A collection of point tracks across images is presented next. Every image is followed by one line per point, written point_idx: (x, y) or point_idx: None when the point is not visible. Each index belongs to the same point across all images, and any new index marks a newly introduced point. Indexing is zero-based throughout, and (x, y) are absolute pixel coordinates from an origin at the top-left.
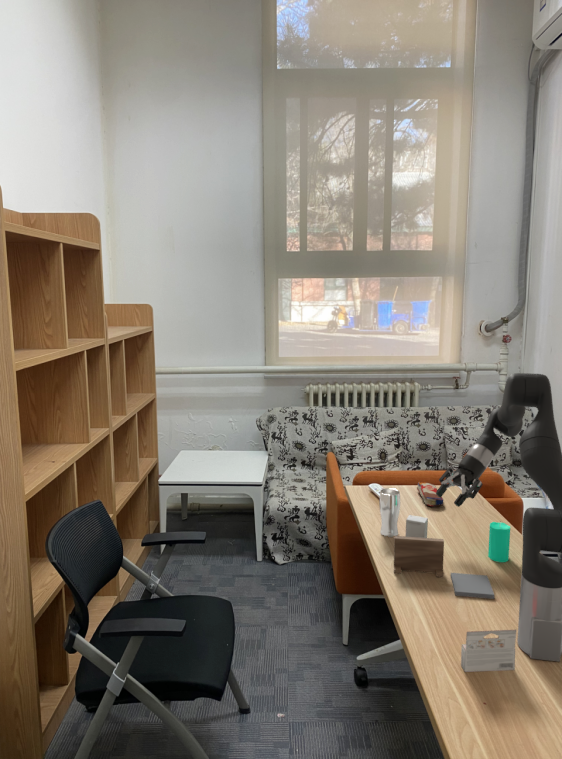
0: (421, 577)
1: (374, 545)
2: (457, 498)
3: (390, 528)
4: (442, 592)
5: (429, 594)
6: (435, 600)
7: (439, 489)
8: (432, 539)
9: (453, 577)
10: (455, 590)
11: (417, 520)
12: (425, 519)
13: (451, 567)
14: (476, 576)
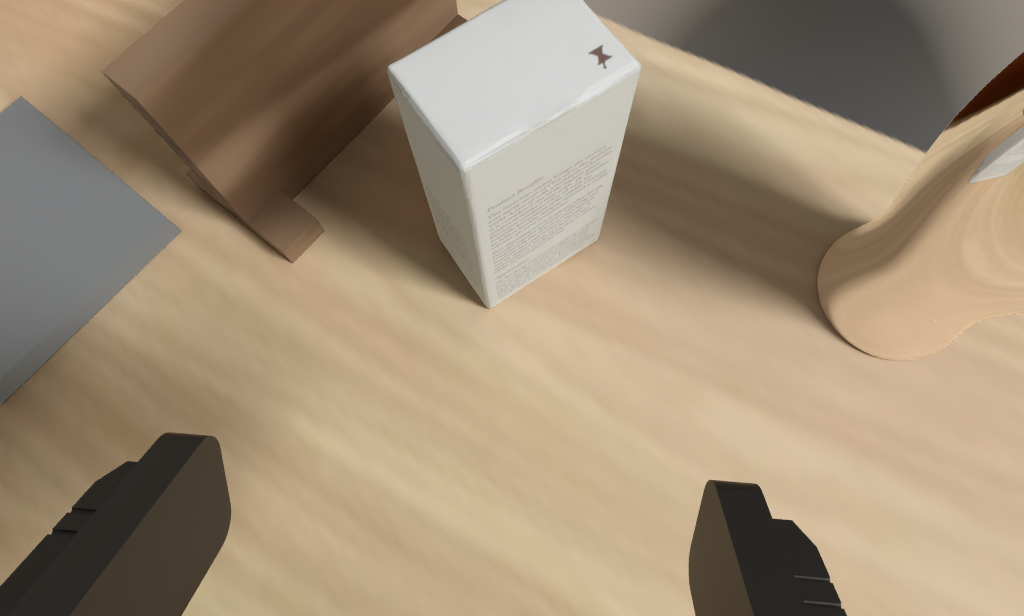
0: None
1: (752, 95)
2: (138, 503)
3: (862, 234)
4: (105, 78)
5: (139, 14)
6: (84, 4)
7: (760, 558)
8: (194, 19)
9: (118, 190)
10: (25, 101)
11: (472, 39)
12: (447, 124)
13: (251, 319)
14: (23, 325)
